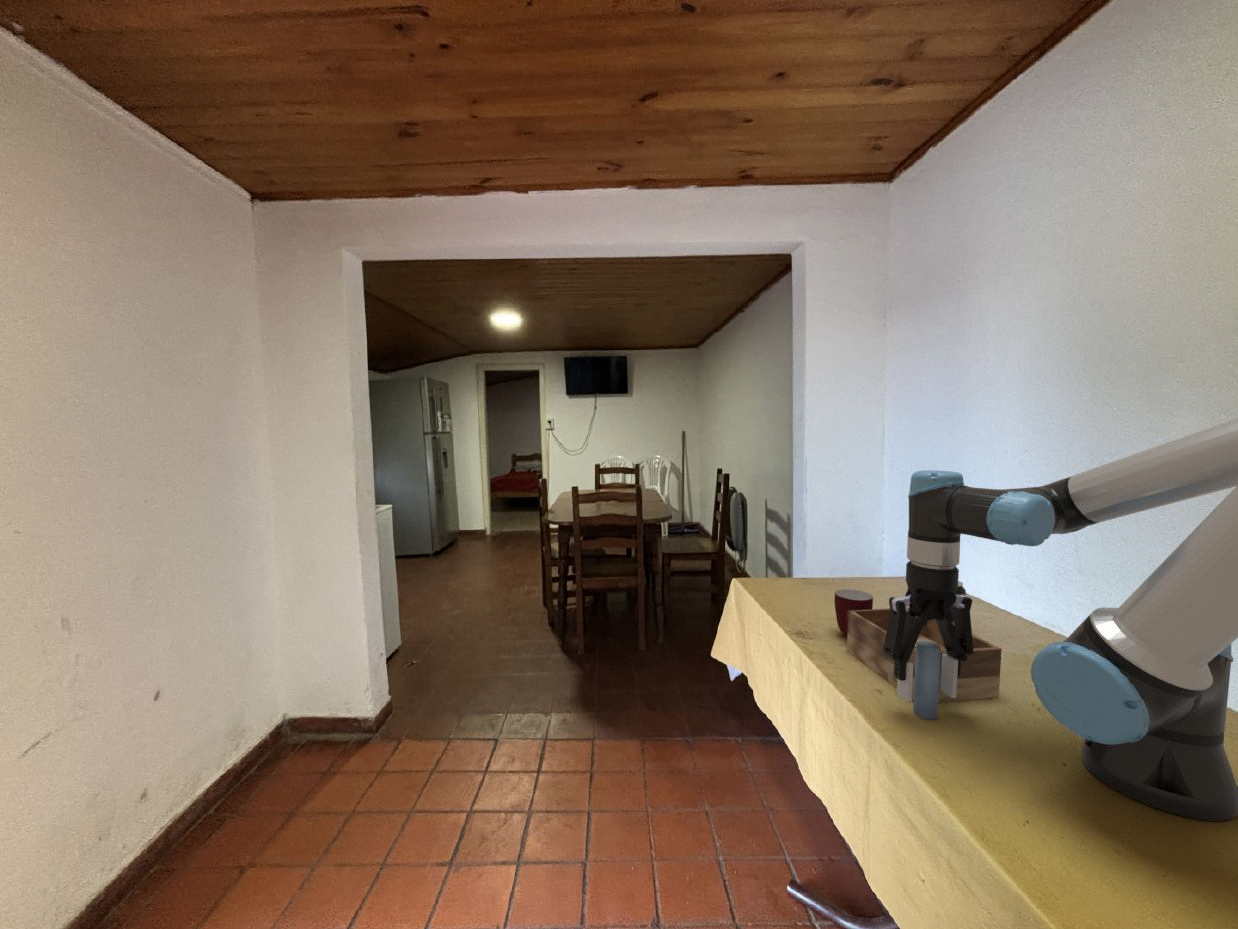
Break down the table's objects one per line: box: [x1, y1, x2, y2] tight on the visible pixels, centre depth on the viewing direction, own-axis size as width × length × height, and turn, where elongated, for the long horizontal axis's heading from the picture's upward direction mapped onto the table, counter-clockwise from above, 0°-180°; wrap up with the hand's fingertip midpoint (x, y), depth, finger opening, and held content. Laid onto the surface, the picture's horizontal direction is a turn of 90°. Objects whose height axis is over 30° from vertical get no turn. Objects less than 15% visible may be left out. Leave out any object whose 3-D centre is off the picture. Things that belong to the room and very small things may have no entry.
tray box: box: [846, 606, 1002, 703], centre depth 104 cm, size 22×16×9 cm
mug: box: [833, 588, 874, 639], centre depth 121 cm, size 11×8×10 cm
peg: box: [913, 641, 941, 721], centre depth 89 cm, size 4×4×12 cm
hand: (926, 695), depth 89 cm, fingers open, 8 cm apart
